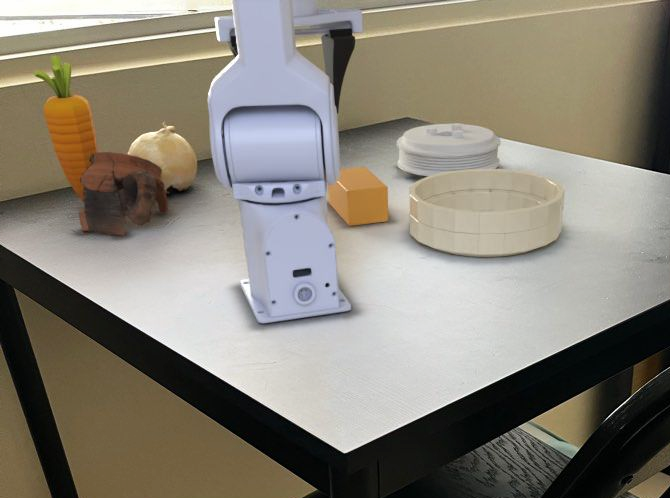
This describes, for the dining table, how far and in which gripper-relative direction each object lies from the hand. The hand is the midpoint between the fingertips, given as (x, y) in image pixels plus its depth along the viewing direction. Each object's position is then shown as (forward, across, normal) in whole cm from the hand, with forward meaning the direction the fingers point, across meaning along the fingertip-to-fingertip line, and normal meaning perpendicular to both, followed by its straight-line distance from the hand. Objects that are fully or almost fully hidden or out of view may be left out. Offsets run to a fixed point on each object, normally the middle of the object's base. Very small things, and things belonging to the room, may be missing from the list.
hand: (297, 115), depth 92 cm
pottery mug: (+10, +19, -1) cm, 21 cm away
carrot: (+10, +23, -10) cm, 27 cm away
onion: (+10, +14, -13) cm, 21 cm away
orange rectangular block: (+9, -5, +4) cm, 11 cm away
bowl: (+9, -15, +16) cm, 24 cm away
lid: (+10, -20, -8) cm, 24 cm away
